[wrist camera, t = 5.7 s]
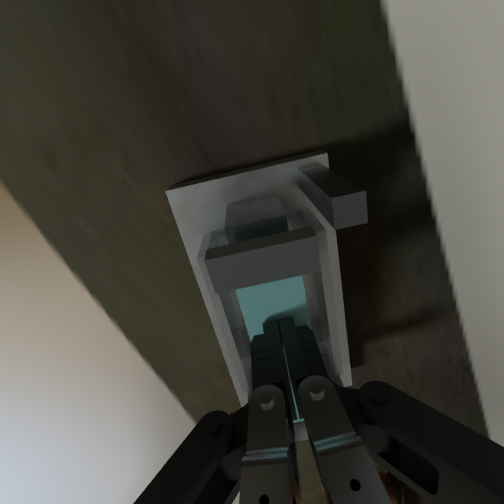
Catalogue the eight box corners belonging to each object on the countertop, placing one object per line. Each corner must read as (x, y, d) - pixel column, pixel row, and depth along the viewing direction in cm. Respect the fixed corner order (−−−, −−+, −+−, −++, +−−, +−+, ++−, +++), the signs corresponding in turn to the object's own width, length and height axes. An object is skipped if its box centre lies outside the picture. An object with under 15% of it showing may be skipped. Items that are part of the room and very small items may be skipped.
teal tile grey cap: (207, 241, 13) (204, 260, 11) (306, 219, 13) (316, 235, 11) (268, 428, 19) (271, 458, 18) (334, 416, 19) (344, 445, 17)
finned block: (171, 185, 17) (118, 240, 10) (320, 149, 17) (388, 179, 9) (241, 390, 25) (243, 513, 17) (345, 370, 25) (395, 486, 17)
